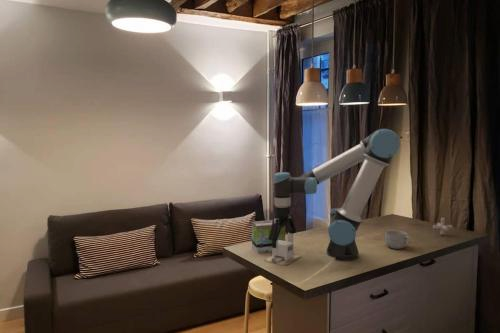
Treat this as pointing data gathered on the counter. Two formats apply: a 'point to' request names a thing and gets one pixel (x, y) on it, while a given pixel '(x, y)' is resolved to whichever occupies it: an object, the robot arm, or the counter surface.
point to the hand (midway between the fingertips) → (283, 250)
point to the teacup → (396, 239)
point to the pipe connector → (442, 226)
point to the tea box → (264, 236)
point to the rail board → (282, 260)
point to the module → (284, 250)
